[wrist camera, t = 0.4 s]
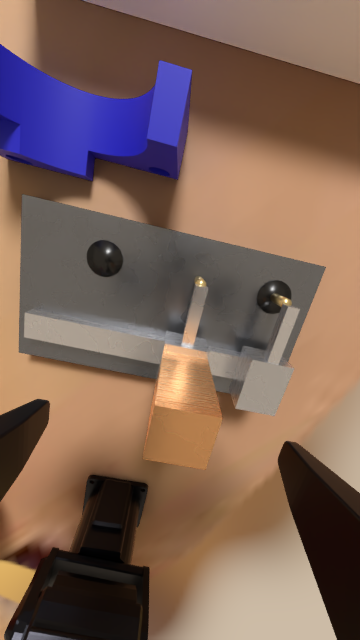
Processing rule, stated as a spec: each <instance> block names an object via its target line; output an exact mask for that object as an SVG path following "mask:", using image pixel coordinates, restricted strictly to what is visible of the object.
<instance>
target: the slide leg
mask: <svg viewBox="0 0 360 640" xmlns="http://www.w3.org/2000/svg"><path fill="white" fill-rule="evenodd" d="M194 284H195V286H194V290H193V294H192V298H191V302H190V306H189V310H188V315H187V319H186V323H185V327H184V331H183V334H180V333H175V332H170V331H167V332H166V336H165V341H164V345H163V350H162V355H161V359H160V364H159V368H158V373H157V377H156V383H155V388H154V394H153V401H152V407H151V413H150V418H149V424H148V430H147V435H146V441H145V447H144V453H143V458H142V459H145V460H151V461H156V462H162V463H168V464H174V465H180V466H186V467H191V468H197V469H203V470H206V467H207V464H208V461H209V458H210V455H211V452H212V449H213V446H214V443H215V440H216V437H217V434H218V431H219V428H220V425H221V422H222V419H223V417H222V413H221V409H220V405H219V401H218V397H217V393H216V389H215V385H214V382H213V378H212V374H211V370H210V366H209V362H208V358H209V354H210V352H209V348H208V345H207V341H206V339H203V338H199V337H196V334H197V330H198V326H199V323H200V319H201V315H202V311H203V307H204V304H205V300H206V296H207V292H208V287H207V286H206V282H205V281H204V279H203V278H202V277H201V276H197V277H195V279H194Z"/></svg>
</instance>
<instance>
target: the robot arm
mask: <svg viewBox="0 0 360 640" xmlns="http://www.w3.org/2000/svg"><path fill="white" fill-rule="evenodd" d="M49 409H50V403H49V401H48V400H42V399H36V400H34V401H31V402H29V403H27V404H25V405H22V406H20V407H18V408H16V409H13V410H11V411H9V412H6V413H4V414H2V415H0V501H1V500H2V499H3V497H4V496H5V494H6V493H7V491H8V490H9V488H10V487H11V485H12V484H13V483H14V481H15V480H16V478H17V477H18V475H19V474H20V472H21V471H22V469H23V468H24V466H25V464H26V462H27V461H28V459H29V457H30V455H31V453H32V452H33V450H34V448H35V446H36V445H37V443H38V441H39V439H40V437H41V436H42V434H43V432H44V430H45V428H46V426H47V424H48V421H49ZM278 465H279V469H280V473H281V476H282V480H283V484H284V488H285V492H286V495H287V499H288V502H289V506H290V509H291V512H292V515H293V518H294V520H295V524H296V526H297V529H298V532H299V535H300V537H301V540H302V543H303V546H304V549H305V552H306V554H307V557H308V560H309V563H310V565H311V568H312V571H313V574H314V576H315V579H316V582H317V585H318V588H319V590H320V593H321V596H322V599H323V602H324V604H325V607H326V610H327V613H328V616H329V618H330V621H331V624H332V627H333V629H334V632H335V635H336V638H337V640H360V493H359V492H357V491H356V490H355V489H354V488H352V487H351V486H350V485H349V484H347V483H346V482H345V481H344V480H342V479H341V478H340V477H339V476H338V475H336V474H335V473H334V472H333V471H331V470H330V469H329V468H328V467H326V466H325V465H324V464H323V463H321V462H320V461H319V460H317V459H316V458H315V457H314V456H313V455H311V454H310V453H309V452H308V451H306V450H305V449H304V448H303V447H302V446H300V445H299V444H298V443H296V442H291V441H286V442H284V444H283V447H282V449H281V452H280V454H279V457H278ZM147 491H148V485H147V484H145V483H139V482H133V481H127V480H121V479H115V478H109V477H103V476H97V475H90V476H89V478H88V480H87V485H86V492H85V499H84V506H83V513H82V518H81V520H80V523H79V526H78V529H77V531H76V534H75V537H74V540H73V542H72V545H71V548H70V551H69V552H67V551H63V550H59V548H55V547H53V548H52V550H51V552H50V555H49V556H48V557H45V558H43V559H41V561H40V563H39V565H38V568H37V570H36V572H35V574H34V577H33V579H32V582H31V583H30V585H29V587H28V589H27V591H26V593H25V595H24V597H23V599H22V600H21V602H20V604H19V606H18V608H17V609H16V611H15V613H14V615H13V617H12V619H11V621H10V622H9V624H8V627H7V629H6V631H5V634H4V639H5V640H147V639H148V618H149V615H148V614H149V567H147V566H143V567H140V566H135V565H131V560H132V554H133V547H134V541H135V534H136V528H137V527H138V526H139V523H140V519H141V515H142V511H143V507H144V503H145V499H146V495H147Z"/></svg>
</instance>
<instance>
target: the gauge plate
mask: <svg viewBox="0 0 360 640" xmlns="http://www.w3.org/2000/svg"><path fill="white" fill-rule="evenodd" d="M325 268H326V267H324V266H319V265H315V264H311V263H307V262H303V261H299V260H294V259H290V258H286V257H282V256H278V255H274V254H269V253H265V252H261V251H257V250H253V249H249V248H245V247H240V246H236V245H232V244H228V243H224V242H220V241H215V240H211V239H207V238H203V237H199V236H195V235H190V234H186V233H182V232H178V231H174V230H170V229H166V228H161V227H157V226H153V225H149V224H145V223H141V222H136V221H132V220H128V219H124V218H120V217H116V216H111V215H107V214H103V213H99V212H95V211H91V210H87V209H82V208H78V207H74V206H70V205H66V204H62V203H57V202H53V201H49V200H45V199H41V198H37V197H32V196H28V195H24V194H22V219H21V267H20V316H19V352H20V353H25V354H30V355H35V356H40V357H45V358H50V359H55V360H60V361H66V362H71V363H76V364H81V365H86V366H91V367H96V368H101V369H107V370H112V371H117V372H122V373H127V374H132V375H137V376H142V377H148V378H153V379H156V377H157V373H158V368H159V364H160V359H161V355H162V350H163V345H164V341H165V336H166V332H167V331H170V332H175V333H180V334H183V331H184V327H185V323H186V319H187V315H188V310H189V306H190V302H191V298H192V294H193V290H194V286H195V284H194V279H195V277H197V276H201V277H202V278H203V279H204V281H205V282H206V286H207V287H208V292H207V296H206V300H205V304H204V307H203V311H202V315H201V319H200V323H199V326H198V330H197V334H196V337H199V338H203V339H206V341H207V345H208V348H209V352H210V354H209V358H208V362H209V366H210V370H211V374H212V378H213V382H214V385H215V389H216V391H219V392H224V393H229V394H230V395H231V398H232V401H233V404H234V406H235V409H240V410H245V411H251V412H256V413H261V414H266V415H272V416H275V414H276V411H277V409H278V407H279V404H280V402H281V399H282V397H283V395H284V392H285V390H286V387H287V385H288V383H289V380H290V378H291V375H292V373H293V370H294V368H293V367H292V365H291V364H290V363H289V362H288V360H289V358H290V355H291V353H292V350H293V348H294V345H295V343H296V340H297V338H298V335H299V333H300V330H301V328H302V325H303V323H304V320H305V318H306V316H307V313H308V311H309V308H310V306H311V303H312V301H313V298H314V296H315V293H316V291H317V288H318V286H319V283H320V281H321V278H322V276H323V273H324V271H325Z"/></svg>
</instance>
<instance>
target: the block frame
mask: <svg viewBox="0 0 360 640" xmlns="http://www.w3.org/2000/svg"><path fill="white" fill-rule="evenodd" d="M82 1H86V2H89V3H92V4H96V5H99V6H102V7H106V8H109V9H112V10H116V11H119V12H122V13H126V14H129V15H132V16H136V17H139V18H142V19H146V20H149V21H152V22H156V23H159V24H162V25H166V26H169V27H172V28H176V29H179V30H182V31H186V32H189V33H192V34H196V35H199V36H202V37H205V38H209V39H212V40H215V41H219V42H222V43H225V44H229V45H232V46H235V47H239V48H242V49H245V50H249V51H252V52H255V53H259V54H262V55H265V56H269V57H272V58H275V59H279V60H282V61H285V62H289V63H292V64H295V65H299V66H302V67H305V68H309V69H312V70H315V71H319V72H322V73H325V74H328V75H332V76H335V77H338V78H342V79H345V80H348V81H352V82H355V83H358V84H360V0H82Z"/></svg>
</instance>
